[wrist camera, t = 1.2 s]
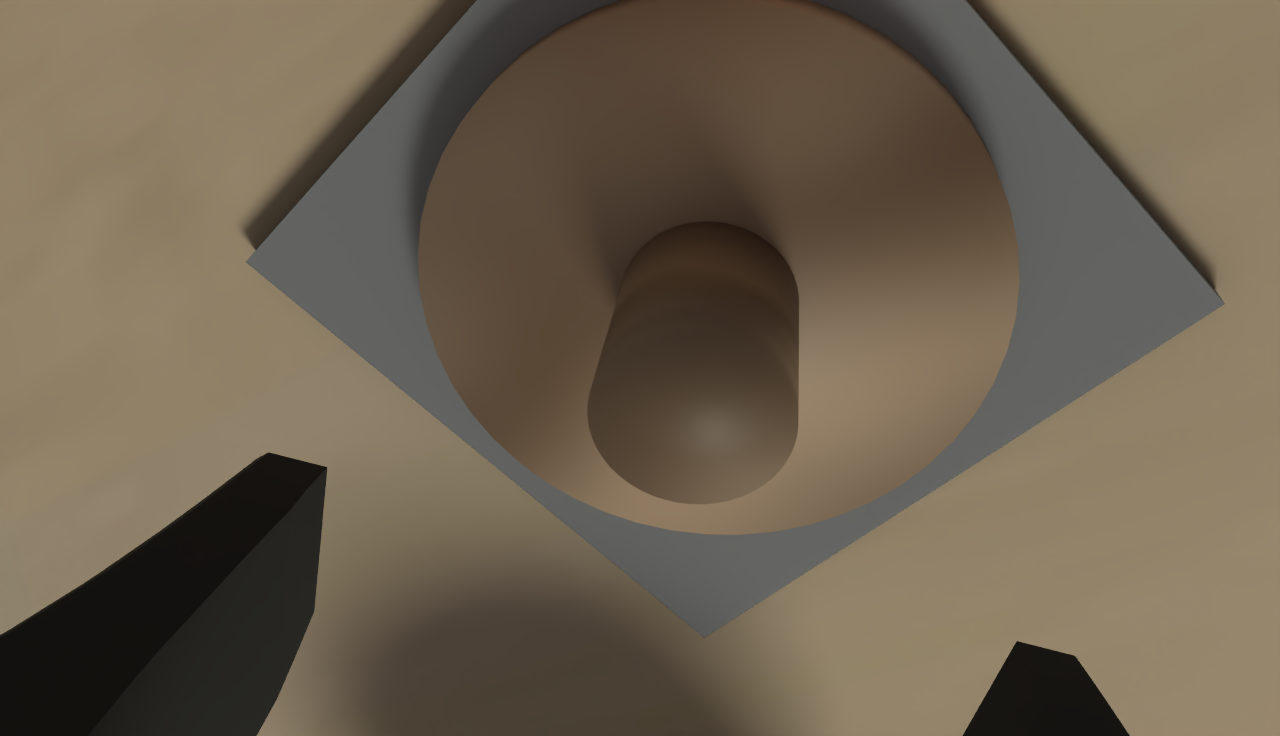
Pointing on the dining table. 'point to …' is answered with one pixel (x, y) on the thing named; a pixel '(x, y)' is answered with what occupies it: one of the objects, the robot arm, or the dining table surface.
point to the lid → (719, 263)
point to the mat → (765, 562)
